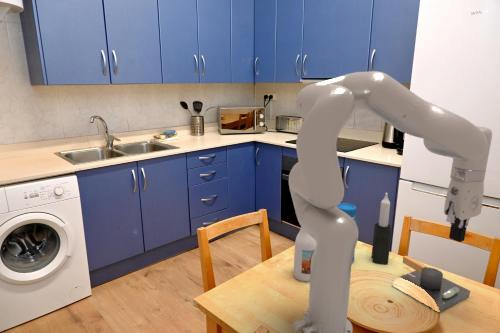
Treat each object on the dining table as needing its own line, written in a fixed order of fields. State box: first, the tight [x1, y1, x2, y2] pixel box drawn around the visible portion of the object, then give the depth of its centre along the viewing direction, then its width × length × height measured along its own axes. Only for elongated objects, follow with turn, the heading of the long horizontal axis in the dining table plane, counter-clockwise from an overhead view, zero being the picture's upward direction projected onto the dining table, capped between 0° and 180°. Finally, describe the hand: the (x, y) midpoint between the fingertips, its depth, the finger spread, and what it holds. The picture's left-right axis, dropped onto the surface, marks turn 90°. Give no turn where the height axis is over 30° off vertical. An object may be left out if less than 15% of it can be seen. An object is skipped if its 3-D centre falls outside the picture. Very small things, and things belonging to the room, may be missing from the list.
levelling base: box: [400, 270, 471, 313], centre depth 103 cm, size 15×15×4 cm
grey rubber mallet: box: [402, 255, 444, 290], centre depth 106 cm, size 13×6×4 cm, turn 24°
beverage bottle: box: [337, 202, 358, 264], centre depth 120 cm, size 8×8×20 cm
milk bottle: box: [293, 226, 316, 283], centre depth 109 cm, size 8×8×20 cm
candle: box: [371, 192, 392, 265], centre depth 118 cm, size 5×5×25 cm
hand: (456, 239), depth 94 cm, fingers closed
